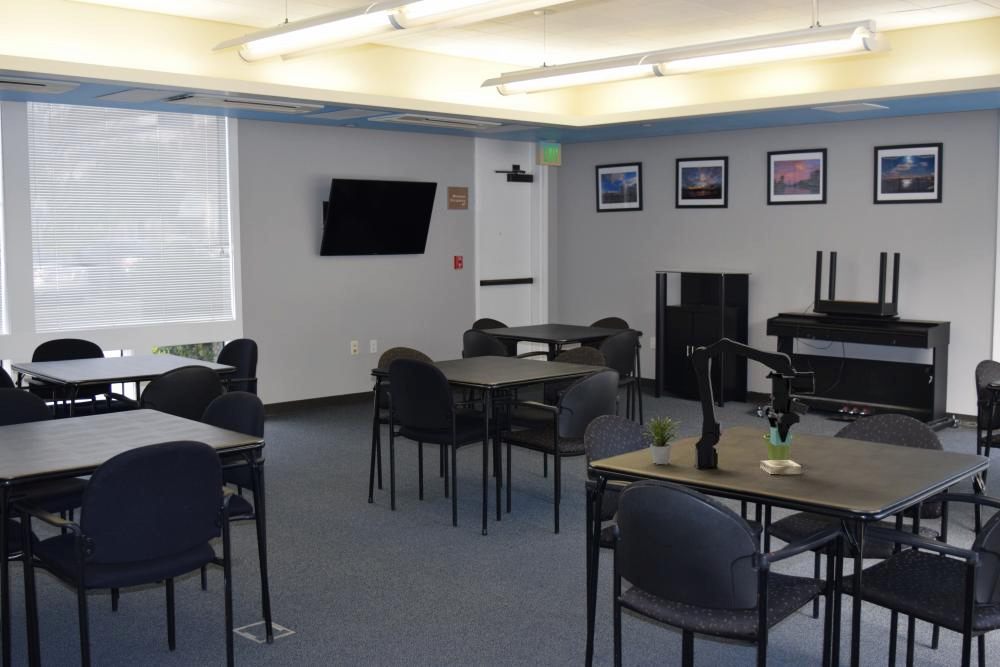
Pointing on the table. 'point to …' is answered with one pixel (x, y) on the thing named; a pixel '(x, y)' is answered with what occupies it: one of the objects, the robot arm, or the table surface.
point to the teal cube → (776, 438)
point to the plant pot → (776, 450)
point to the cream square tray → (780, 467)
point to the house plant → (661, 440)
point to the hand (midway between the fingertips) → (780, 440)
